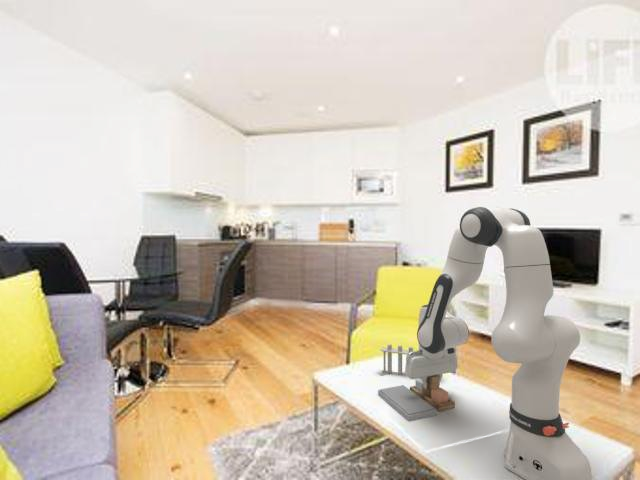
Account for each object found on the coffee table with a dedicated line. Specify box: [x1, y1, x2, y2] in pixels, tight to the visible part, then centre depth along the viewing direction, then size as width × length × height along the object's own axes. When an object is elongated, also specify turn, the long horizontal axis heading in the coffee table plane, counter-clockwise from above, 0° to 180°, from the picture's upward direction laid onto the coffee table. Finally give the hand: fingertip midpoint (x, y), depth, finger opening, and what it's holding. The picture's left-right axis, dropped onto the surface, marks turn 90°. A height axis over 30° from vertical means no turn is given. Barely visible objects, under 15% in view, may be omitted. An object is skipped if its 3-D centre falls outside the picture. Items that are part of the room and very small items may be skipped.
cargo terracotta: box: [431, 387, 449, 404], centre depth 131 cm, size 4×4×4 cm
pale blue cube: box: [415, 378, 424, 394], centre depth 140 cm, size 4×4×4 cm
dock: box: [377, 384, 438, 422], centre depth 132 cm, size 20×11×3 cm, turn 20°
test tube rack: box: [379, 343, 415, 377], centre depth 156 cm, size 25×4×13 cm, turn 66°
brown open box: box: [409, 375, 456, 413], centre depth 135 cm, size 16×7×10 cm, turn 22°
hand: (431, 386), depth 135 cm, fingers closed on brown open box, 3 cm apart
